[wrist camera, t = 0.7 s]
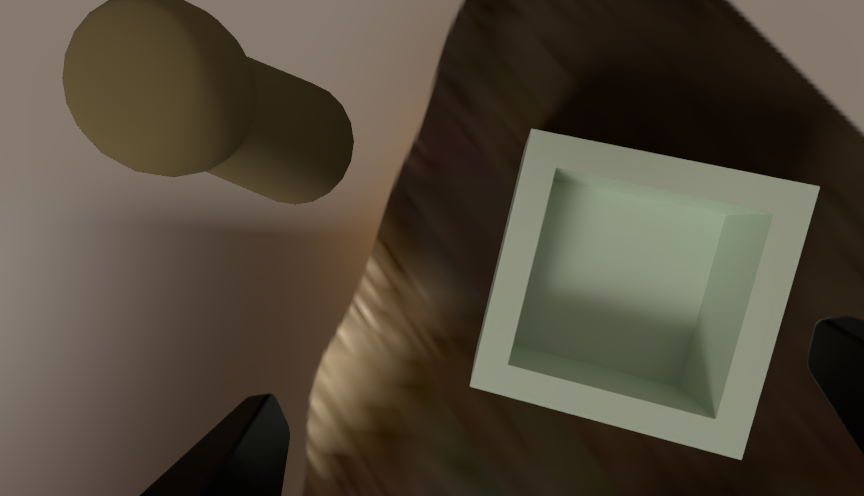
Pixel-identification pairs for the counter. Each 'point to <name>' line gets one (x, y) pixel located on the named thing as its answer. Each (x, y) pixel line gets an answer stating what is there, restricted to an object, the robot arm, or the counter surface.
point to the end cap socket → (641, 289)
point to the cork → (200, 103)
